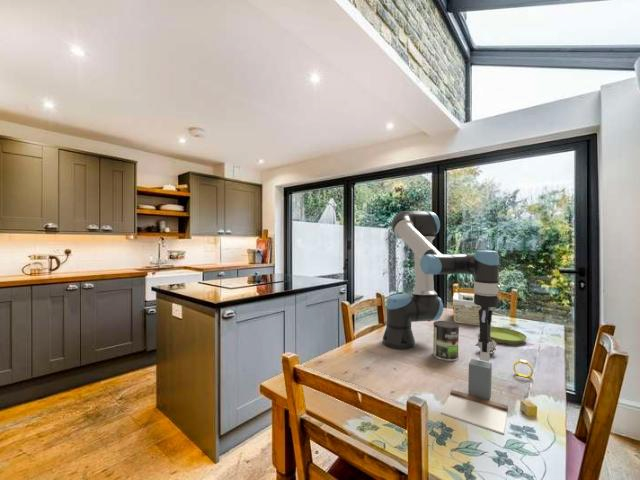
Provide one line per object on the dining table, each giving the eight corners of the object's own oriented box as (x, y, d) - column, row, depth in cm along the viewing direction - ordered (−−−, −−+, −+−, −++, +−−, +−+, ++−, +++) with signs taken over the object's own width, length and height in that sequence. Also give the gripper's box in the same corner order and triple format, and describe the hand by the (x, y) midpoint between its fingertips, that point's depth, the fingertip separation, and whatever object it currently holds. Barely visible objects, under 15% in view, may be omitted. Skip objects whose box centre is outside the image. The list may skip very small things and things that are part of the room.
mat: (440, 413, 89) (440, 411, 89) (450, 395, 99) (450, 394, 99) (503, 434, 80) (503, 433, 80) (507, 412, 90) (507, 411, 90)
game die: (491, 362, 134) (503, 349, 128) (472, 354, 135) (483, 341, 129) (489, 346, 141) (501, 333, 135) (471, 338, 142) (482, 325, 136)
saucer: (472, 338, 155) (472, 332, 155) (487, 329, 168) (487, 324, 168) (519, 350, 139) (519, 343, 139) (531, 339, 153) (531, 333, 153)
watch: (531, 377, 113) (533, 361, 112) (532, 380, 110) (534, 364, 110) (512, 372, 116) (514, 357, 116) (512, 375, 114) (514, 359, 113)
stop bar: (450, 395, 99) (450, 392, 99) (451, 393, 101) (451, 389, 101) (507, 412, 90) (507, 408, 90) (507, 409, 91) (507, 405, 91)
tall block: (468, 397, 98) (468, 363, 98) (470, 390, 102) (471, 358, 102) (489, 403, 95) (489, 368, 94) (491, 396, 99) (491, 363, 98)
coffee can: (464, 359, 127) (464, 326, 127) (443, 362, 125) (443, 328, 124) (447, 350, 137) (448, 319, 137) (428, 352, 135) (428, 321, 134)
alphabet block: (529, 409, 91) (529, 400, 91) (537, 416, 88) (537, 405, 88) (519, 410, 91) (520, 400, 91) (527, 416, 88) (527, 406, 88)
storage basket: (482, 327, 173) (483, 301, 173) (451, 323, 180) (452, 298, 180) (481, 316, 194) (481, 294, 194) (453, 313, 202) (454, 291, 201)
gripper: (496, 298, 99) (494, 369, 100) (500, 292, 110) (498, 356, 110) (471, 295, 103) (469, 363, 104) (477, 290, 114) (475, 351, 115)
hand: (484, 359), depth 107 cm, fingers closed
